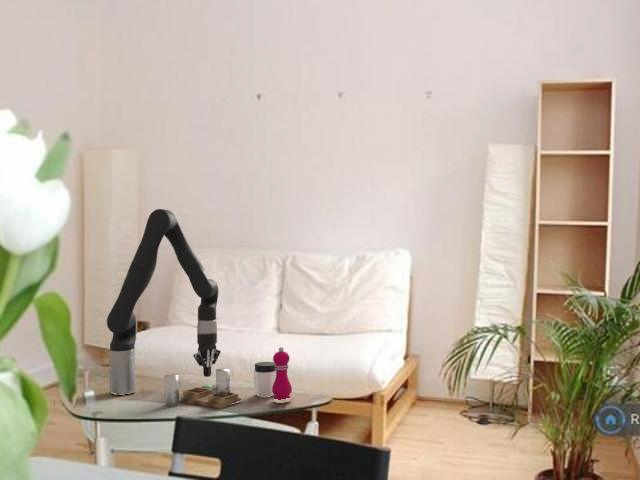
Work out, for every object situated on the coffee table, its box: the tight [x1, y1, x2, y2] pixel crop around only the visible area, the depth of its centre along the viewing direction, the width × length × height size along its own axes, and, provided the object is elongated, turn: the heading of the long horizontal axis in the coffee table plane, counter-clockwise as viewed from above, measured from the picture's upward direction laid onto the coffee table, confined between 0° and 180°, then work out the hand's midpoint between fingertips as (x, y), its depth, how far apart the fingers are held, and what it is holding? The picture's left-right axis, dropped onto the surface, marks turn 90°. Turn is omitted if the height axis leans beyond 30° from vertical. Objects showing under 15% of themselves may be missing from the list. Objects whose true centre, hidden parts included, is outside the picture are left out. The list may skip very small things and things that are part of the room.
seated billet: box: [215, 367, 231, 397], centre depth 259 cm, size 5×5×11 cm
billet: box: [164, 373, 180, 408], centre depth 259 cm, size 5×5×11 cm
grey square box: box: [199, 384, 216, 394], centre depth 275 cm, size 6×6×3 cm
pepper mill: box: [272, 346, 293, 400], centre depth 261 cm, size 7×7×20 cm
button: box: [203, 384, 212, 389], centre depth 275 cm, size 3×3×3 cm
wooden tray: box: [180, 386, 242, 410], centre depth 263 cm, size 21×11×4 cm, turn 54°
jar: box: [253, 361, 276, 397], centre depth 272 cm, size 9×8×12 cm
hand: (207, 376), depth 275 cm, fingers closed
